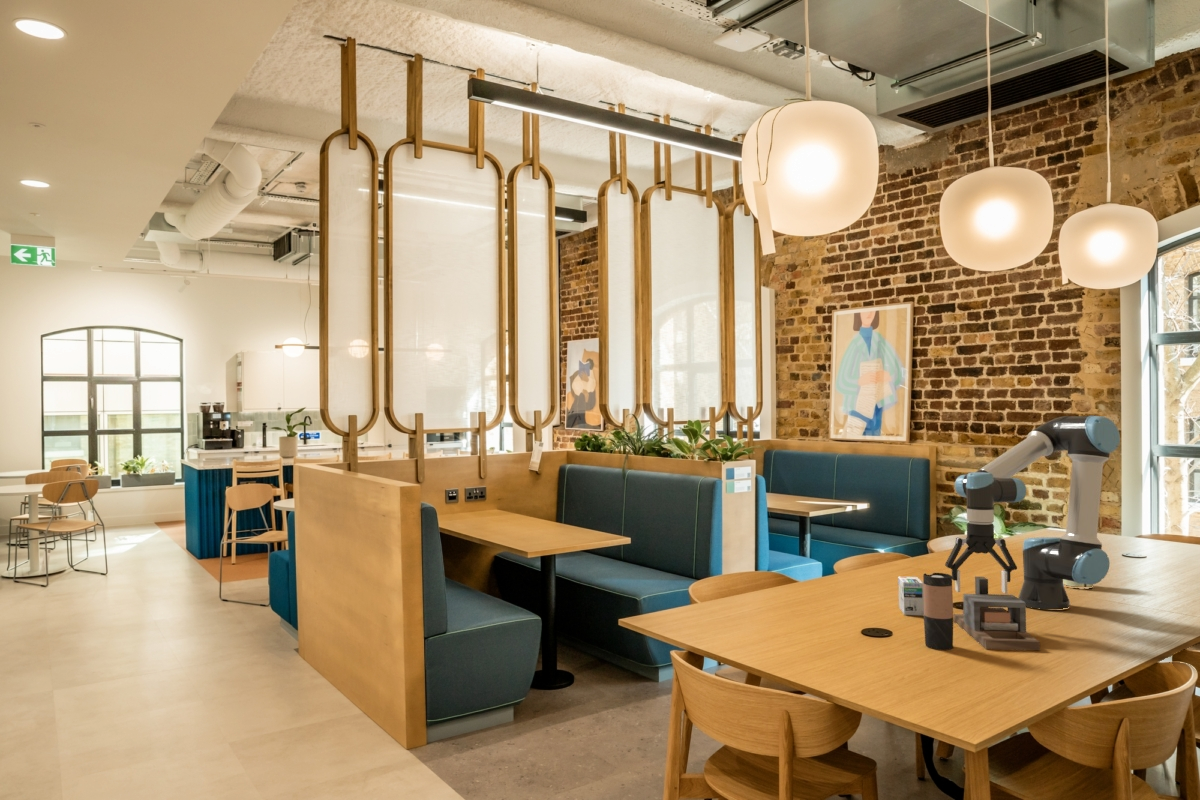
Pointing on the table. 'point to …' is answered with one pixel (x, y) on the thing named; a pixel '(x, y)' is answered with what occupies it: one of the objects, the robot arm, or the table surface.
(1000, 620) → the block
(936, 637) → the travel mug
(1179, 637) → the table surface
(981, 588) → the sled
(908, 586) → the light bulb box
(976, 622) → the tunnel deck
